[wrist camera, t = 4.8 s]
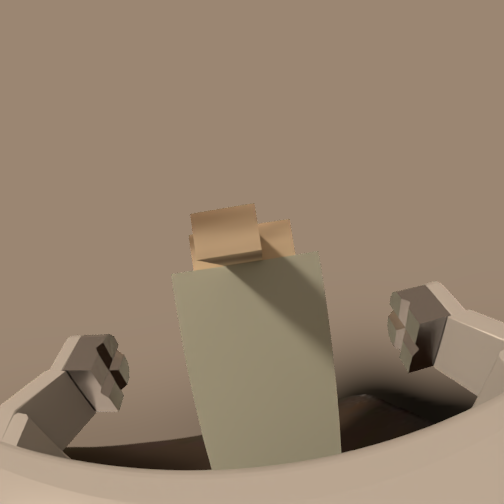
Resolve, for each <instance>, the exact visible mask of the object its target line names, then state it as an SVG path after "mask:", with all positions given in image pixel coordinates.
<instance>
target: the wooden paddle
mask: <svg viewBox="0 0 504 504" xmlns="http://www.w3.org/2000/svg"><path fill="white" fill-rule="evenodd" d="M190 215H191V223H192V231H193V235H189V240H190V247H191V255H192V261H193V269H194V271H196V270H202V269H209V268H215V267H222V266H228V265H235V264H241V263H248V262H254V261H260V260H267V259H273V258H279V257H286V256H292V255H295V248H294V243H293V237H292V231H291V225H290V219H286V220H280V221H273V222H267V223H260V224H258V223H257V217H256V211H255V205H254V203H253V204H246V205H240V206H234V207H228V208H222V209H217V210H211V211H205V212H199V213H194V214H190Z"/></svg>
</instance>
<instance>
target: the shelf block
mask: <svg viewBox="0 0 504 504" xmlns="http://www.w3.org/2000/svg"><path fill="white" fill-rule="evenodd" d="M171 276H172V284H173V290H174V297H175V303H176V309H177V315H178V321H179V326H180V332H181V338H182V343H183V349H184V354H185V359H186V364H187V369H188V374H189V379H190V383H191V388H192V392H193V397H194V401H195V405H196V410H197V414H198V418H199V422H200V427H201V431H202V435H203V439H204V443H205V446H206V450H207V454H208V458H209V461H210V465H211V468H212V470H222V469H239V468H251V467H261V466H270V465H278V464H285V463H292V462H299V461H305V460H310V459H316V458H321V457H326V456H331V455H335V454H340V453H341V439H340V424H339V412H338V400H337V389H336V379H335V369H334V360H333V351H332V343H331V335H330V327H329V319H328V312H327V304H326V297H325V291H324V284H323V277H322V271H321V264H320V258H319V253H318V251H317V252H311V253H305V254H298V255H292V256H286V257H279V258H273V259H267V260H260V261H254V262H248V263H241V264H235V265H228V266H222V267H215V268H209V269H202V270H196V271H189V272H183V273H176V274H172V275H171Z"/></svg>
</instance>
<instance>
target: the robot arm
mask: <svg viewBox="0 0 504 504" xmlns="http://www.w3.org/2000/svg"><path fill="white" fill-rule="evenodd" d="M390 305H391V307H392V309H393V311H392V312H391V314H390V315H389V317H388V333H389V337H390V340H391V342H392V344H393V346H394V347H395V348H397V349H399V350H401V353H400V359H401V361H402V362H403V364H404V366H405V368H406V370H407V372H408V373H410V372H413V371H417V370H420V369H424V368H427V367H431V366H434V368H436V369H437V370H439V371H440V372H442V373H443V374H445V375H447V376H448V377H449V378H451V379H453V380H454V381H456V382H457V383H459V384H460V385H462V386H463V387H465V388H466V389H468V390H469V391H471V392H472V393H474V394H476V395H477V396H478V397H477V399H476V401H475V403H474V405H473V407H472V408H471V409H470V410H467V411H465V412H463V413H460V414H458V415H456V416H454V417H451V418H449V419H447V420H444V421H442V422H439V423H437V424H434V425H432V426H429V427H426V428H424V429H421V430H418V431H416V432H413V433H410V434H407V435H404V436H401V437H398V438H395V439H392V440H389V441H385V442H382V443H378V444H375V445H371V446H368V447H364V448H360V449H356V450H352V451H348V452H344V453H340V454H335V455H331V456H326V457H321V458H316V459H310V460H305V461H299V462H292V463H285V464H278V465H270V466H261V467H251V468H239V469H222V470H157V469H141V468H129V467H119V466H111V465H103V464H96V463H89V462H83V461H78V460H72V459H70V458H69V457H68V456H67V455H66V454H65V453H64V452H63V450H64V449H65V448H66V447H67V445H68V444H69V443H70V442H71V441H72V440H73V438H74V437H75V436H76V435H77V434H78V433H79V432H80V431H81V429H82V428H83V427H84V426H85V425H86V424H87V423H88V421H89V420H90V419H91V418H92V417H93V416H94V415H95V413H96V412H119V410H120V407H121V403H122V400H123V397H124V395H123V393H122V391H121V389H122V388H124V387H125V386H126V385H127V383H128V380H129V366H128V362H127V360H126V358H125V356H124V355H123V354H121V353H120V352H119V351H117V348H118V343H117V341H116V339H115V338H114V336H112V335H110V334H104V335H84V336H71V337H69V338H68V339H67V340H66V342H65V344H64V345H63V347H62V349H61V351H60V353H59V354H58V356H57V358H56V360H55V361H54V363H53V365H52V367H51V369H50V370H49V371H48V370H46V371H45V372H43V373H42V374H41V375H39V376H38V377H37V378H35V379H34V380H33V381H31V382H30V383H29V384H27V385H26V386H25V387H23V388H22V389H21V390H19V391H18V392H17V393H16V394H15V395H13V396H12V397H10V398H9V399H8V400H7V401H5V402H4V403H3V404H2V405H0V504H504V322H501V321H499V320H496V319H493V318H491V317H488V316H485V315H483V314H481V313H478V312H475V311H473V310H467V311H466V310H465V309H464V308H463V307H462V305H461V304H460V303H459V302H458V301H457V300H456V299H455V298H454V297H453V296H452V295H451V294H450V293H449V291H448V290H447V289H446V288H445V287H444V286H443V285H442V284H441V283H440V282H438V281H434V282H431V283H427V284H423V285H422V286H418V287H413V288H409V289H405V290H401V291H396V292H393V293H392V296H391V298H390Z"/></svg>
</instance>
